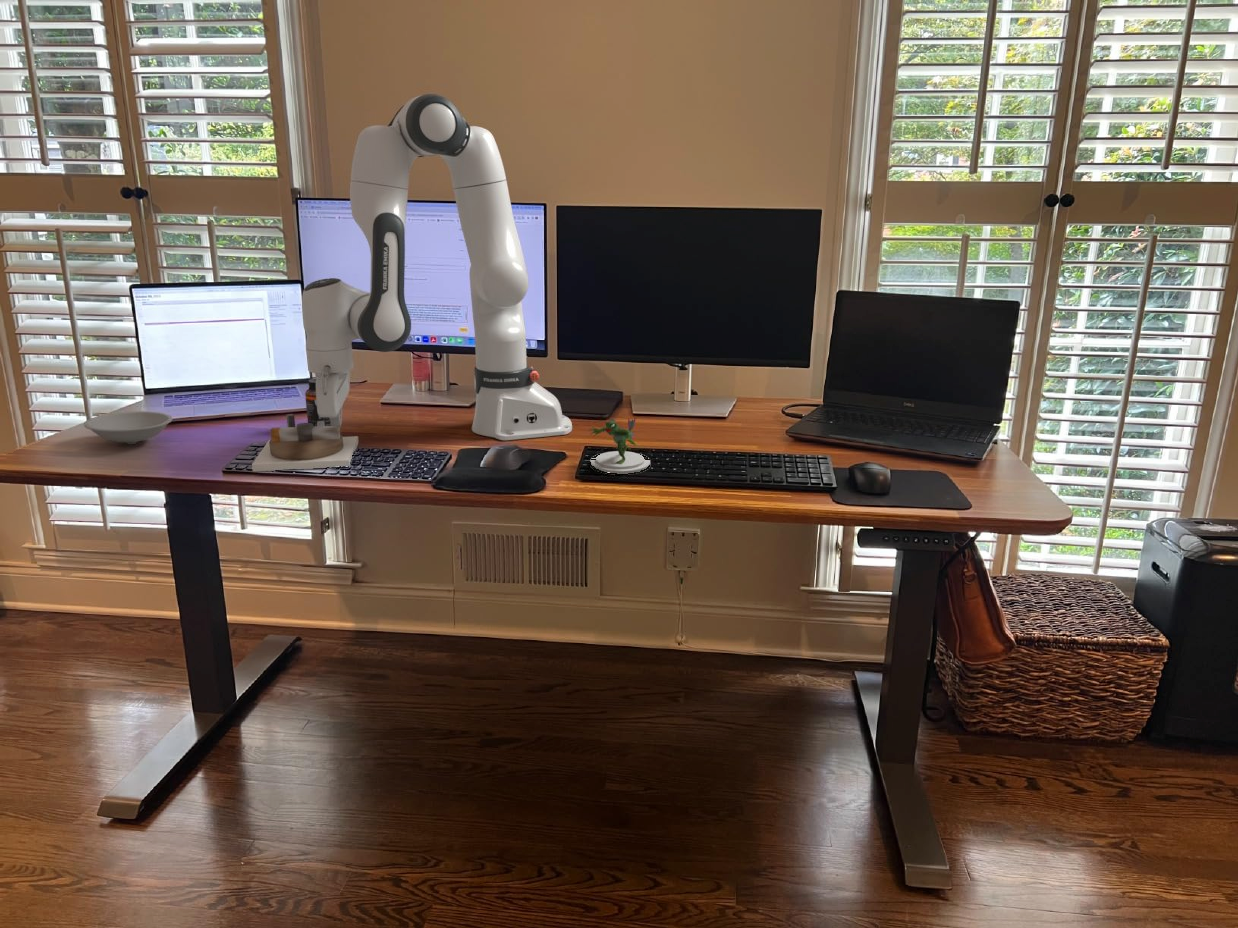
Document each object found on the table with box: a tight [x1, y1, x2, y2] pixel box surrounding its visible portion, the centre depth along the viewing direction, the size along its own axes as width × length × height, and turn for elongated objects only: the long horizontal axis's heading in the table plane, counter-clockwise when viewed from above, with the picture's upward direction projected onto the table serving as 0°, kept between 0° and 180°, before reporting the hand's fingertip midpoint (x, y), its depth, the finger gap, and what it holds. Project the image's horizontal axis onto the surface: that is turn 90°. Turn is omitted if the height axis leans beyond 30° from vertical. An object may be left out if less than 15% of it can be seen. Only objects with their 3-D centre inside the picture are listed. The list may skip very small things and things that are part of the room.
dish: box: [83, 410, 173, 445], centre depth 186 cm, size 18×14×5 cm
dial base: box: [251, 413, 359, 473], centre depth 178 cm, size 18×16×7 cm
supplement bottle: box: [304, 378, 331, 426], centre depth 195 cm, size 6×6×11 cm
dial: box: [269, 422, 344, 460], centre depth 178 cm, size 14×14×5 cm
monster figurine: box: [588, 418, 651, 475], centre depth 174 cm, size 12×12×10 cm
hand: (336, 426), depth 182 cm, fingers closed
